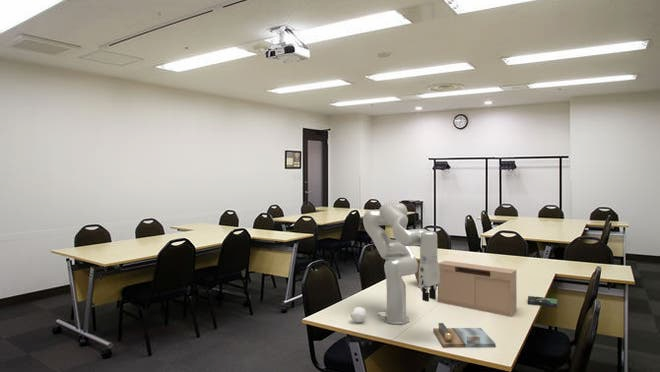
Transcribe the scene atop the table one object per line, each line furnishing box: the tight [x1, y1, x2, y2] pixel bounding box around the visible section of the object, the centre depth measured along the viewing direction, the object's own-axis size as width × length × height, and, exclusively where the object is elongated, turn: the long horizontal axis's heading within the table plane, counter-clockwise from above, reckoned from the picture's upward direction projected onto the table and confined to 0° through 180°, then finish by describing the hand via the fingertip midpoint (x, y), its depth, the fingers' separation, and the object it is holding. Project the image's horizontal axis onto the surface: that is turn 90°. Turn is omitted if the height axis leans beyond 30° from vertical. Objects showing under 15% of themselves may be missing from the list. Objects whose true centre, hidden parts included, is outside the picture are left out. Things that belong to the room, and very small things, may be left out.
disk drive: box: [527, 295, 559, 309], centre depth 232 cm, size 10×3×15 cm
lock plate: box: [432, 327, 496, 348], centre depth 184 cm, size 22×18×4 cm
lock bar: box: [438, 322, 452, 342], centre depth 184 cm, size 14×3×3 cm, turn 179°
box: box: [437, 260, 518, 318], centre depth 227 cm, size 10×40×22 cm, turn 50°
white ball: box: [350, 306, 368, 324], centre depth 207 cm, size 8×8×8 cm
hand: (429, 299), depth 186 cm, fingers open, 4 cm apart
